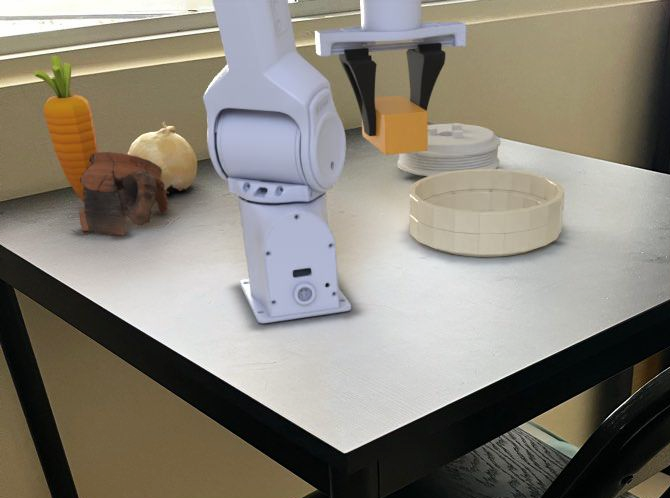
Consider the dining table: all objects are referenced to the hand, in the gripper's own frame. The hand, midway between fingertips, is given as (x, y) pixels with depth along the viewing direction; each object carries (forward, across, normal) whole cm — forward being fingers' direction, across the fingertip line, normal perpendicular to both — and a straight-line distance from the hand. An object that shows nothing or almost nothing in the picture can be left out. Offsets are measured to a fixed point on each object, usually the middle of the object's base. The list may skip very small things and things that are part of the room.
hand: (394, 131), depth 88 cm
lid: (+9, -12, -16) cm, 22 cm away
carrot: (+9, +31, -18) cm, 37 cm away
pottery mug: (+9, +27, -8) cm, 30 cm away
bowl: (+9, -7, +8) cm, 14 cm away
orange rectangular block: (+1, 0, 0) cm, 1 cm away
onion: (+9, +22, -21) cm, 32 cm away
